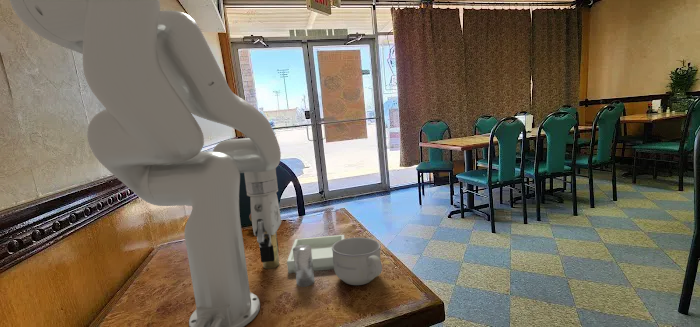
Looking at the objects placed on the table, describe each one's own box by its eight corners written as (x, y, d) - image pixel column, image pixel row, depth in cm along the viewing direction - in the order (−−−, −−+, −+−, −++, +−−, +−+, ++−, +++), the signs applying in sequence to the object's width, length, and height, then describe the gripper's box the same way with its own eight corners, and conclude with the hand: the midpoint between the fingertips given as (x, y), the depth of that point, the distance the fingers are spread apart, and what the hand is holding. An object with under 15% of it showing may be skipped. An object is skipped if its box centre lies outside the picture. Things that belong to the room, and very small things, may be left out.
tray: (346, 267, 73) (345, 256, 73) (288, 273, 73) (286, 261, 72) (345, 244, 87) (344, 234, 87) (296, 249, 87) (295, 239, 86)
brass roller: (277, 267, 76) (273, 237, 75) (261, 269, 76) (257, 238, 75) (280, 260, 80) (277, 231, 79) (265, 262, 80) (262, 233, 79)
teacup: (328, 273, 71) (325, 241, 70) (370, 262, 75) (368, 231, 74) (349, 305, 58) (346, 266, 57) (398, 290, 62) (396, 253, 61)
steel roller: (313, 285, 66) (309, 251, 65) (295, 287, 66) (291, 252, 65) (315, 276, 70) (311, 243, 69) (298, 278, 70) (294, 245, 69)
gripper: (268, 193, 67) (278, 271, 69) (283, 179, 83) (290, 243, 86) (235, 196, 67) (245, 274, 69) (256, 182, 83) (264, 245, 86)
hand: (270, 256), depth 77 cm, fingers closed on brass roller, 4 cm apart
